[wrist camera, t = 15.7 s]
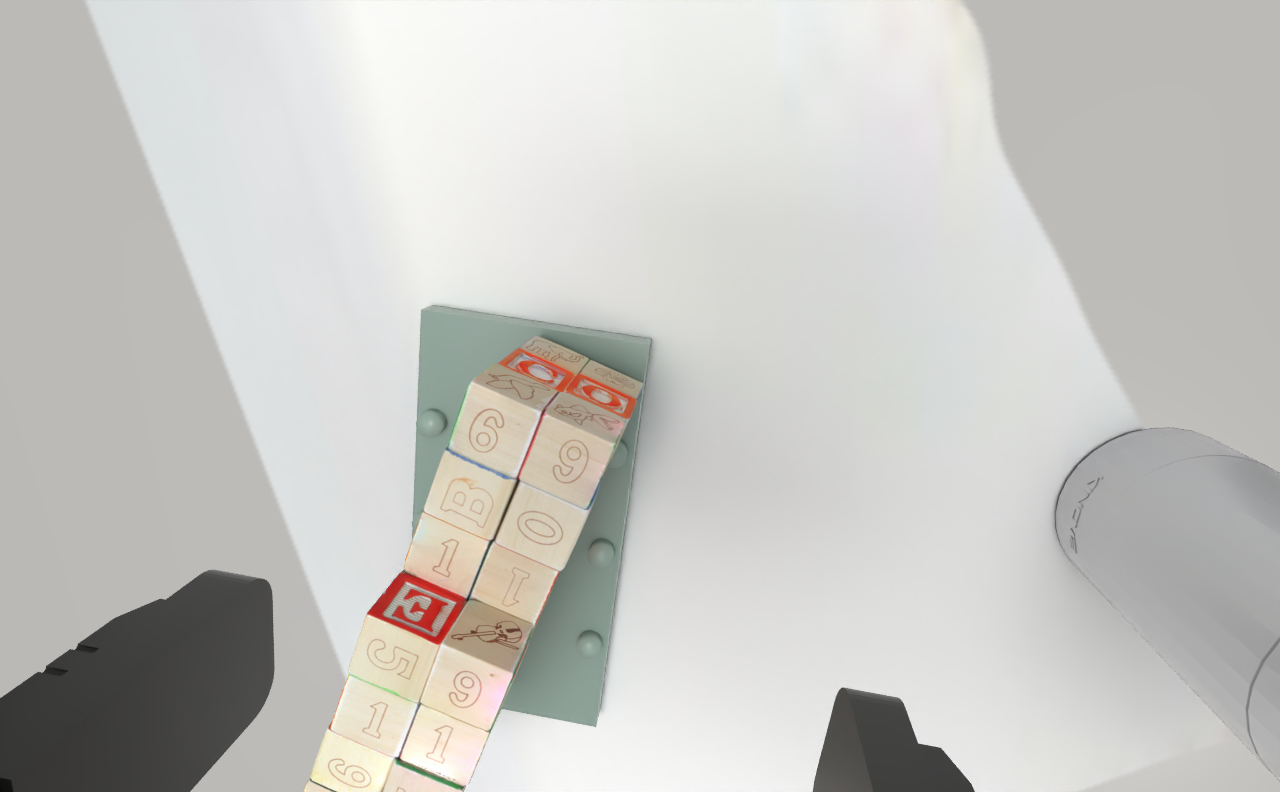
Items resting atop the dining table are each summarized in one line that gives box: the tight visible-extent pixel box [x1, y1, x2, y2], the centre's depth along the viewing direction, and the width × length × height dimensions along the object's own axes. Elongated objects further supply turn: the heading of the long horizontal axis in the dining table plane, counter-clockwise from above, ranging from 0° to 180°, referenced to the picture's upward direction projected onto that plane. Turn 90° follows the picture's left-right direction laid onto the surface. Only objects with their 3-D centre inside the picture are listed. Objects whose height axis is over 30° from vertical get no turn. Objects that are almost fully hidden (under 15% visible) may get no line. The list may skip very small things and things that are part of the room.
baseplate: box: [412, 305, 651, 727], centre depth 40 cm, size 12×24×2 cm, turn 172°
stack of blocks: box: [304, 336, 644, 792], centre depth 32 cm, size 21×6×12 cm, turn 156°
